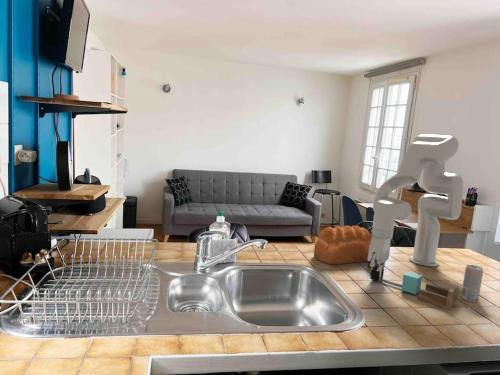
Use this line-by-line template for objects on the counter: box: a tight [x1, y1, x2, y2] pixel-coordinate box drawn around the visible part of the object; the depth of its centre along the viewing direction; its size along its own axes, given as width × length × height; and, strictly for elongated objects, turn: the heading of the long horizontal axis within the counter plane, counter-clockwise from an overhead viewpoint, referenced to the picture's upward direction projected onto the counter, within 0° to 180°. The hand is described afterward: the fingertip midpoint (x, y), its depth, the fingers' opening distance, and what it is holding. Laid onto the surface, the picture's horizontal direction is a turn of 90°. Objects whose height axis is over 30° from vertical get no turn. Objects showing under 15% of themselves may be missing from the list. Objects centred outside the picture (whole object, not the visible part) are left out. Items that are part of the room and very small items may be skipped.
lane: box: [417, 282, 460, 310], centre depth 131 cm, size 9×10×6 cm
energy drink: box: [460, 264, 484, 303], centre depth 134 cm, size 5×5×12 cm
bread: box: [313, 225, 373, 265], centre depth 169 cm, size 14×26×16 cm, turn 115°
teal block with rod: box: [375, 264, 423, 296], centre depth 141 cm, size 17×5×6 cm, turn 49°
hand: (376, 278), depth 146 cm, fingers closed on teal block with rod, 3 cm apart
